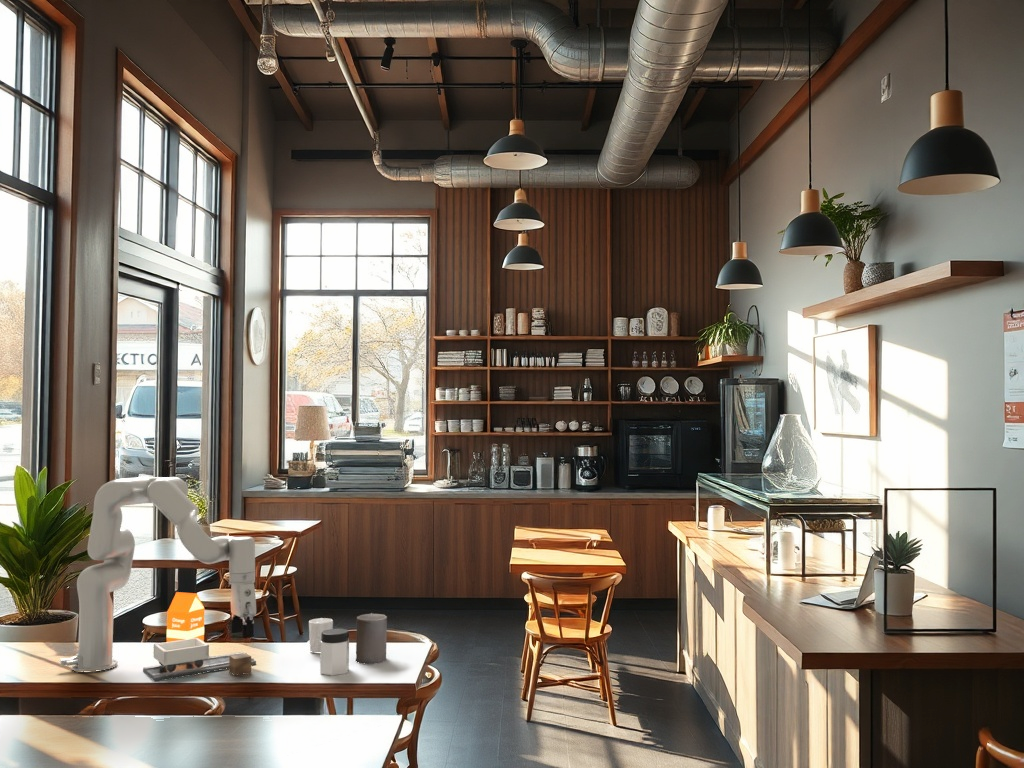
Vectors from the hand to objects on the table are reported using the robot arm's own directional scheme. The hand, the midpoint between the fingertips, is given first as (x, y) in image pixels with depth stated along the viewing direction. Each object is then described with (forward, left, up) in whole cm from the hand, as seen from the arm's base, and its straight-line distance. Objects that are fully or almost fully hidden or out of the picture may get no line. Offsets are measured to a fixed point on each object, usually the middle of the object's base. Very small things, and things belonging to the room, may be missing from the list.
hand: (242, 634), depth 252 cm
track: (-8, +13, -11) cm, 19 cm away
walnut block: (0, 0, -11) cm, 11 cm away
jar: (+23, -17, -11) cm, 30 cm away
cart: (-14, +13, -10) cm, 22 cm away
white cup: (+30, +9, -11) cm, 33 cm away
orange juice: (-7, +33, -11) cm, 36 cm away
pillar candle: (+38, -12, -11) cm, 41 cm away
